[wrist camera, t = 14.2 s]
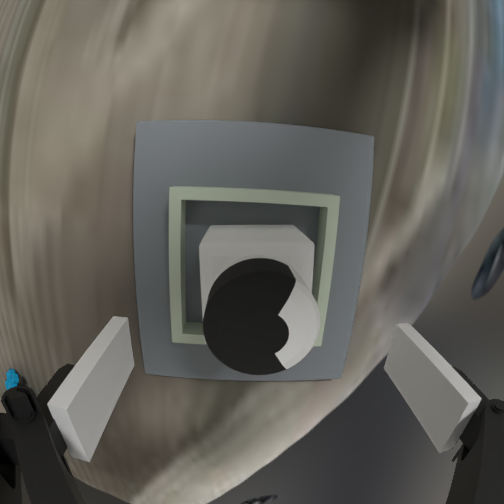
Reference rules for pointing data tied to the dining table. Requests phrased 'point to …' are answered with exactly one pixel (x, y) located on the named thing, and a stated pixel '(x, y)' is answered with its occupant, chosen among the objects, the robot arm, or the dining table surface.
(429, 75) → the dining table surface
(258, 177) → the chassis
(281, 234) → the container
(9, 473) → the robot arm
